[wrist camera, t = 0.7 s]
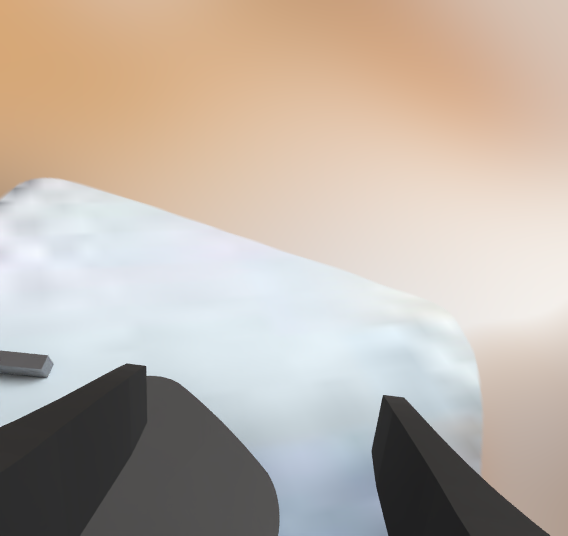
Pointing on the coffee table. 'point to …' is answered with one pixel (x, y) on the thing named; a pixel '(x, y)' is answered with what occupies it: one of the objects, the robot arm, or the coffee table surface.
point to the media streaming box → (187, 477)
